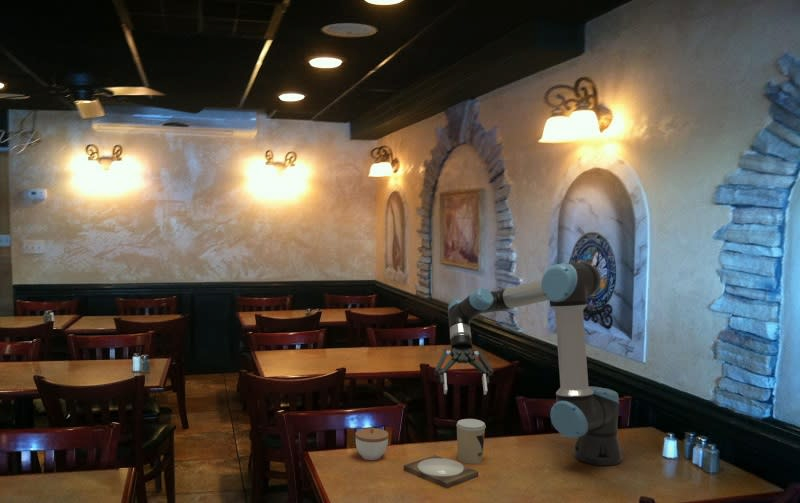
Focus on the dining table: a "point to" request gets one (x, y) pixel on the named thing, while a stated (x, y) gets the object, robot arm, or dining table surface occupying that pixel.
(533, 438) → the dining table surface
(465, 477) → the serving board
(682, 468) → the dining table surface
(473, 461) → the coffee cup
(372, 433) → the lidded jar
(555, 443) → the dining table surface
